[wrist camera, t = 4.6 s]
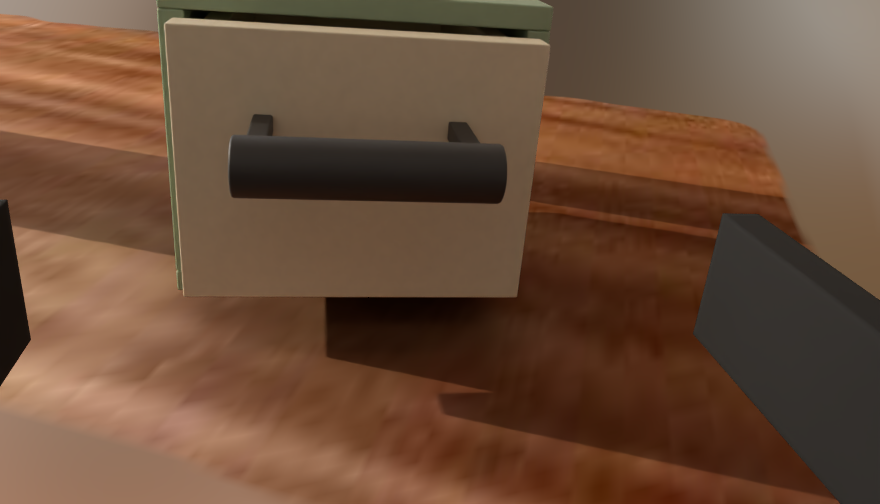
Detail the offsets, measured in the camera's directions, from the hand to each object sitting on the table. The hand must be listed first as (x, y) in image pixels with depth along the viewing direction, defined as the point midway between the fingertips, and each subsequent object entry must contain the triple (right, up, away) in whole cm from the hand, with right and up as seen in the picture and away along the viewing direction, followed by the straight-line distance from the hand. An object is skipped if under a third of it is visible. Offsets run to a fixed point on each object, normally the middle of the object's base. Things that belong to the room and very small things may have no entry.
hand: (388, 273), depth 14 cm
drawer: (-3, +1, +16) cm, 16 cm away
